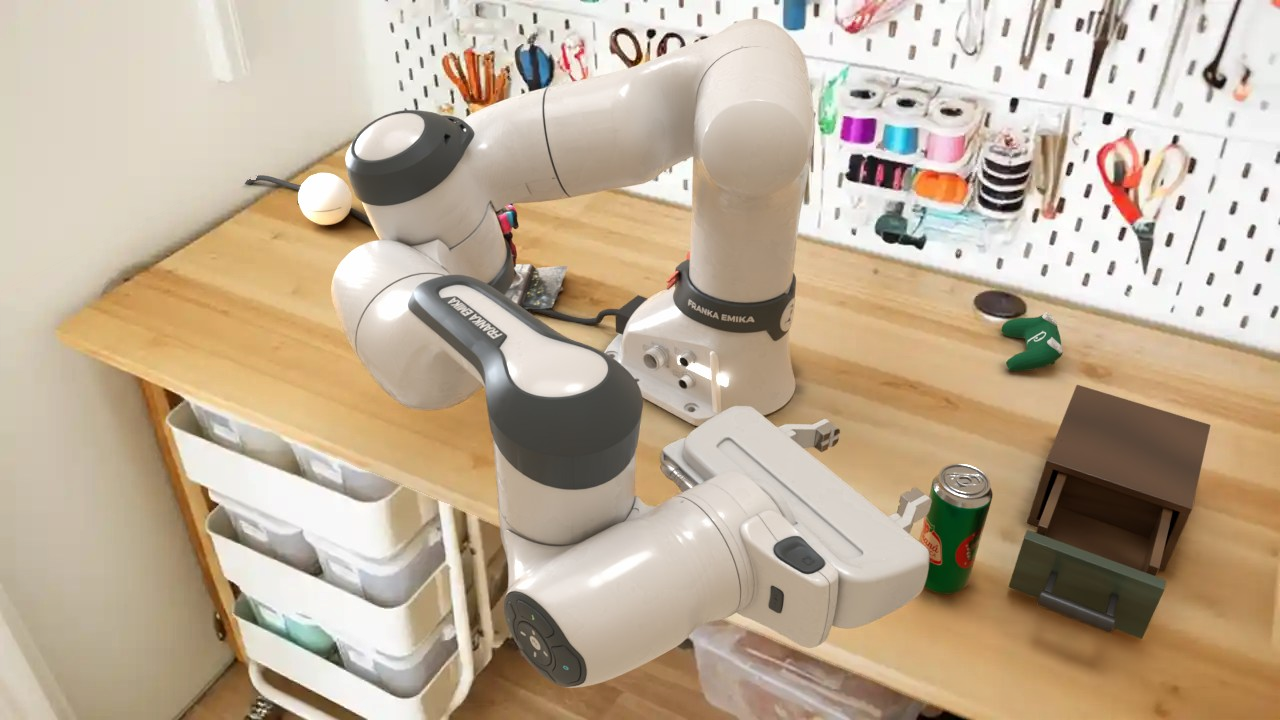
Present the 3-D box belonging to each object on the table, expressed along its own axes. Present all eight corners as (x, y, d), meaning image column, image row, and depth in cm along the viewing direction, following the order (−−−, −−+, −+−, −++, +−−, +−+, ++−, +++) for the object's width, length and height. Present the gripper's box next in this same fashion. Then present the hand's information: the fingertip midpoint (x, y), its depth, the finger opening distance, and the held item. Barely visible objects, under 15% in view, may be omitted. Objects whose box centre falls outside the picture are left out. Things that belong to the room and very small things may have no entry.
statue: (470, 315, 133) (443, 210, 124) (490, 276, 140) (466, 174, 131) (553, 315, 130) (532, 208, 122) (569, 275, 138) (550, 171, 129)
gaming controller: (1022, 388, 122) (1069, 364, 119) (1003, 366, 121) (1051, 341, 118) (1015, 344, 130) (1060, 320, 127) (998, 323, 129) (1042, 298, 125)
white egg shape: (323, 206, 153) (314, 160, 149) (366, 215, 151) (358, 169, 147) (279, 237, 146) (269, 189, 142) (324, 247, 144) (314, 199, 139)
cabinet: (1164, 572, 97) (1192, 509, 92) (1026, 522, 102) (1046, 460, 97) (1184, 486, 106) (1210, 424, 102) (1057, 444, 112) (1076, 384, 107)
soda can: (904, 558, 98) (926, 461, 91) (957, 555, 98) (983, 458, 91) (921, 599, 94) (945, 502, 87) (975, 596, 94) (1004, 498, 87)
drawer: (1134, 673, 87) (1156, 622, 83) (996, 617, 91) (1012, 567, 88) (1164, 547, 98) (1185, 498, 95) (1040, 504, 103) (1056, 455, 99)
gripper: (646, 487, 81) (781, 423, 88) (828, 667, 68) (972, 576, 74) (647, 424, 77) (788, 362, 84) (840, 601, 64) (990, 511, 70)
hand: (876, 463), depth 79 cm, fingers open, 8 cm apart
